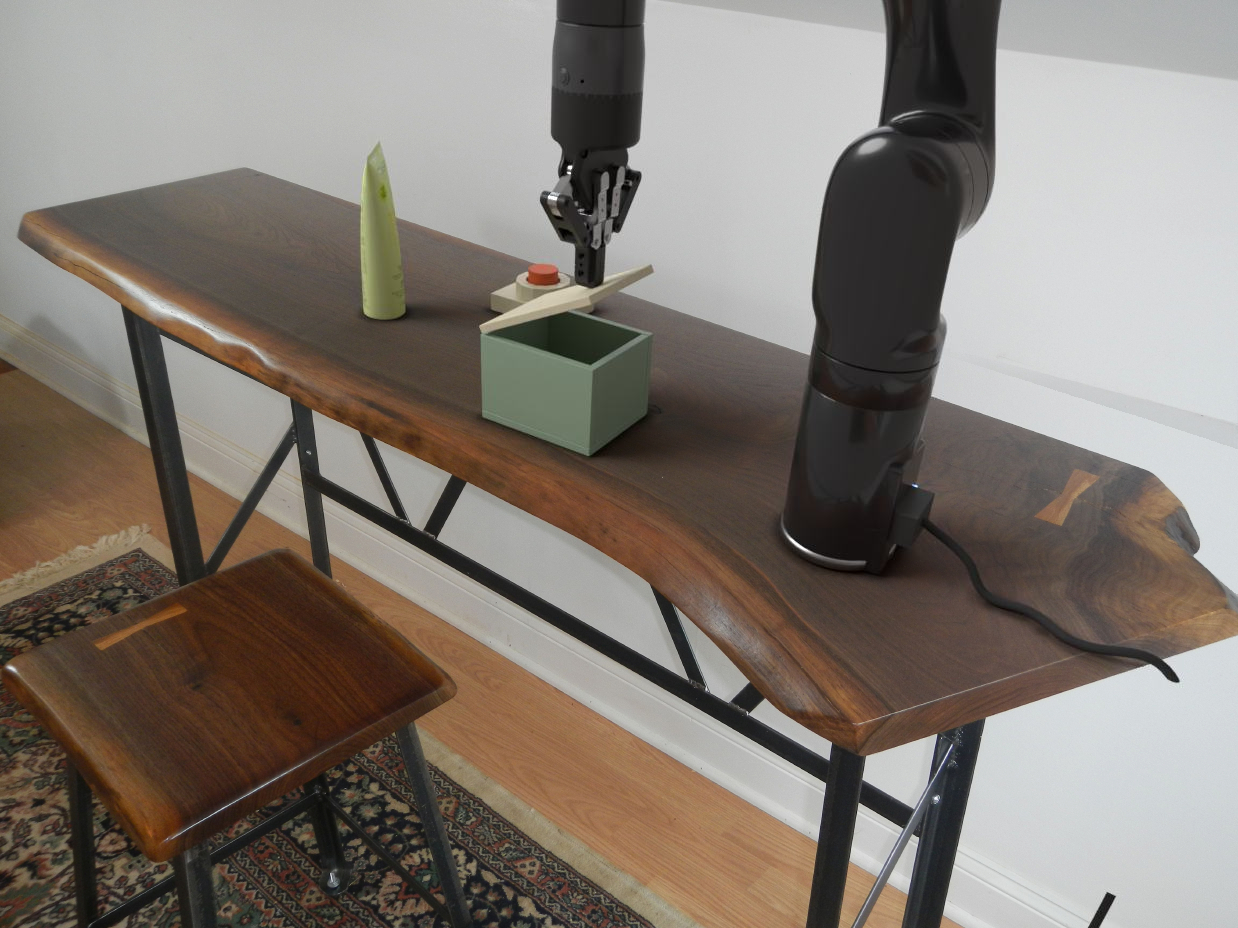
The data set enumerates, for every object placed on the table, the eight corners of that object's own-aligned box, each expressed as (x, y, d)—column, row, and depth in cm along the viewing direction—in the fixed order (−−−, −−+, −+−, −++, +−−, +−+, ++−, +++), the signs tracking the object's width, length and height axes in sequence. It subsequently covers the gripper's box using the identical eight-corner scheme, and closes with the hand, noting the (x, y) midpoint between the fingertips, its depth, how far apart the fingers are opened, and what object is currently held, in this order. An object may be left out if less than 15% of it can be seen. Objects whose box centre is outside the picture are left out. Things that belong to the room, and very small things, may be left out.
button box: (594, 310, 119) (595, 280, 117) (557, 330, 113) (558, 298, 111) (529, 292, 123) (529, 262, 121) (490, 310, 117) (490, 279, 115)
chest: (647, 414, 96) (653, 333, 92) (589, 456, 88) (592, 370, 84) (545, 380, 102) (546, 302, 97) (482, 417, 94) (480, 334, 89)
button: (563, 282, 117) (564, 268, 116) (546, 290, 114) (546, 276, 113) (540, 275, 119) (540, 261, 118) (522, 283, 116) (522, 269, 115)
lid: (654, 272, 89) (651, 264, 89) (591, 305, 81) (588, 296, 81) (548, 301, 97) (545, 294, 97) (481, 334, 89) (478, 325, 89)
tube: (417, 316, 115) (407, 149, 104) (380, 326, 111) (366, 155, 101) (391, 302, 118) (379, 139, 108) (354, 311, 115) (338, 144, 105)
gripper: (591, 99, 71) (583, 316, 80) (677, 79, 81) (661, 275, 90) (511, 85, 74) (511, 295, 83) (602, 67, 84) (594, 257, 93)
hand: (589, 284), depth 87 cm, fingers closed
